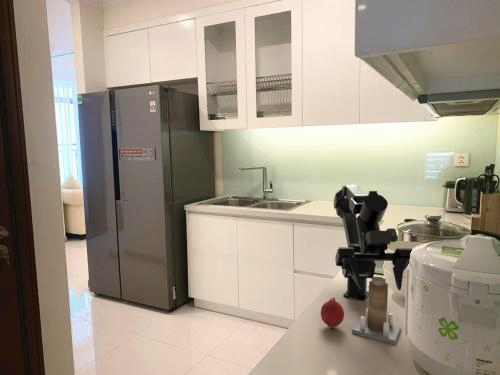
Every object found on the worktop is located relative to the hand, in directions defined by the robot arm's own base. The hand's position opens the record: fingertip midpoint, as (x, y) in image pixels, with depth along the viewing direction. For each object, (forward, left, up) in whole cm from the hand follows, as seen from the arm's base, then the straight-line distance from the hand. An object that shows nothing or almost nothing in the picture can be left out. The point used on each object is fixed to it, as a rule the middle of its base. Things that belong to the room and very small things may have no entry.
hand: (380, 289), depth 86 cm
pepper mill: (-1, -1, -10) cm, 11 cm away
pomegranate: (+3, -11, -12) cm, 16 cm away
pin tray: (-1, -1, -11) cm, 12 cm away
